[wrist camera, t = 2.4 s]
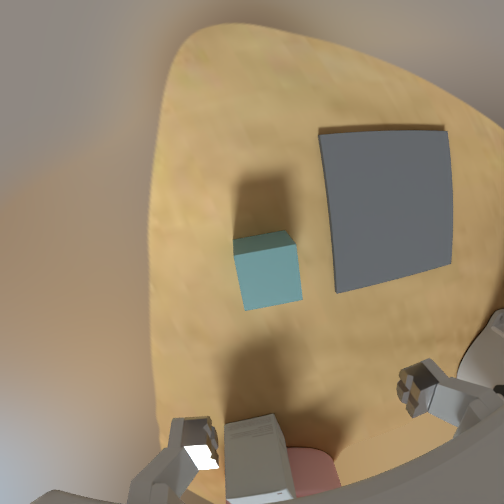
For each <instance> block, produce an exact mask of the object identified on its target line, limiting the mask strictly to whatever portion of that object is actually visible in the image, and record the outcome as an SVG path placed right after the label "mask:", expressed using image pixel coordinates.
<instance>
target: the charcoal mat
mask: <svg viewBox="0 0 504 504" xmlns="http://www.w3.org/2000/svg"><path fill="white" fill-rule="evenodd" d="M318 139H319V145H320V151H321V158H322V164H323V172H324V179H325V186H326V194H327V203H328V212H329V221H330V231H331V242H332V253H333V266H334V281H335V292H336V293H337V294H338V293H342V292H346V291H351V290H355V289H359V288H363V287H367V286H371V285H375V284H379V283H383V282H387V281H391V280H395V279H399V278H402V277H406V276H410V275H413V274H417V273H421V272H424V271H428V270H431V269H435V268H438V267H442V266H445V265H448V264H451V257H452V238H453V189H452V171H451V158H450V148H449V140H448V132H447V131H424V130H401V131H368V132H350V133H336V134H325V135H318Z"/></svg>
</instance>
